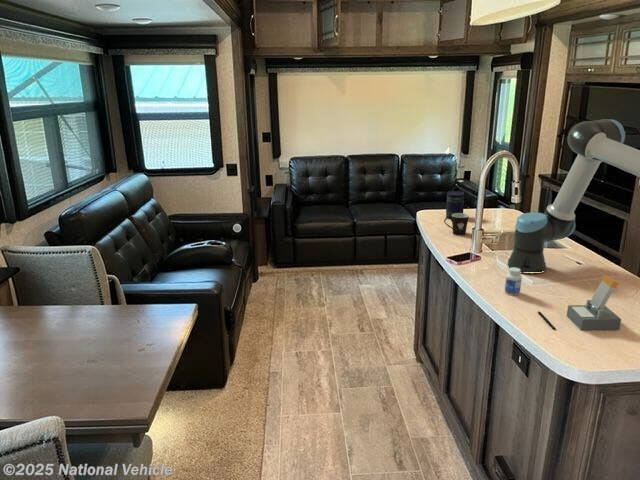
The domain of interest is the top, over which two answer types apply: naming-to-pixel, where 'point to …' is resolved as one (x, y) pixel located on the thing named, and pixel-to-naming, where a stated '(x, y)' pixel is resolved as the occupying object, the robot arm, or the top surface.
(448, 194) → the storage jar
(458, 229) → the coffee mug
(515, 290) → the pill bottle
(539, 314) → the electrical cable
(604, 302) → the lever
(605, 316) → the switch box
